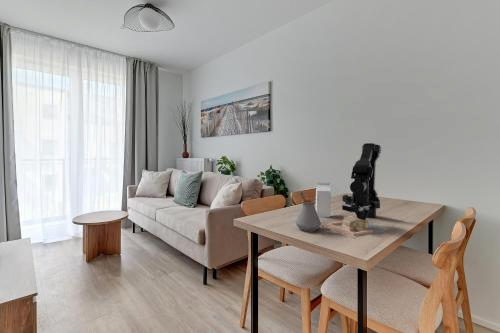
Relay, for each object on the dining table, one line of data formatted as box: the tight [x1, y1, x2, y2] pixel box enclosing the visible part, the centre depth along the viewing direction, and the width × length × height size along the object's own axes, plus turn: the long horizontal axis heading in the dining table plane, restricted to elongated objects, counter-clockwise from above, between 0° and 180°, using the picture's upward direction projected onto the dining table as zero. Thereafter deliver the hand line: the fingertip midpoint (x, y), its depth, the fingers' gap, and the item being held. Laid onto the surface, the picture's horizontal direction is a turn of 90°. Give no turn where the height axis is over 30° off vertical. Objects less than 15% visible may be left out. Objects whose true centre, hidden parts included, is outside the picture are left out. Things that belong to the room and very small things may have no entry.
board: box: [325, 220, 389, 239], centre depth 113 cm, size 21×18×2 cm
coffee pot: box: [295, 191, 322, 232], centre depth 118 cm, size 21×12×15 cm, turn 2°
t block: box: [341, 215, 369, 231], centre depth 111 cm, size 8×10×4 cm
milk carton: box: [315, 181, 332, 219], centre depth 135 cm, size 7×7×19 cm
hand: (360, 224), depth 114 cm, fingers closed
